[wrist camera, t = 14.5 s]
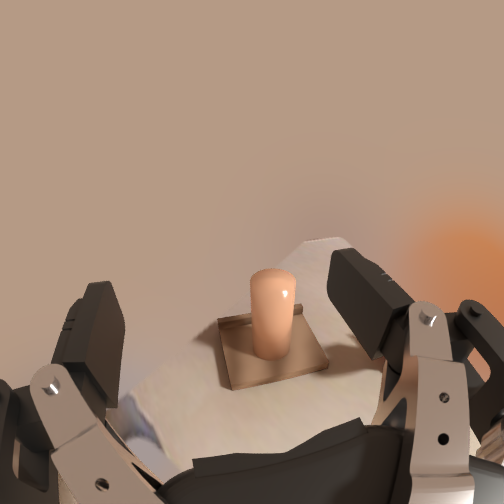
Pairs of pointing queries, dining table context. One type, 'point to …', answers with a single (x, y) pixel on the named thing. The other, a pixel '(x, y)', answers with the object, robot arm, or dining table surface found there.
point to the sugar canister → (272, 312)
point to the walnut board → (263, 371)
